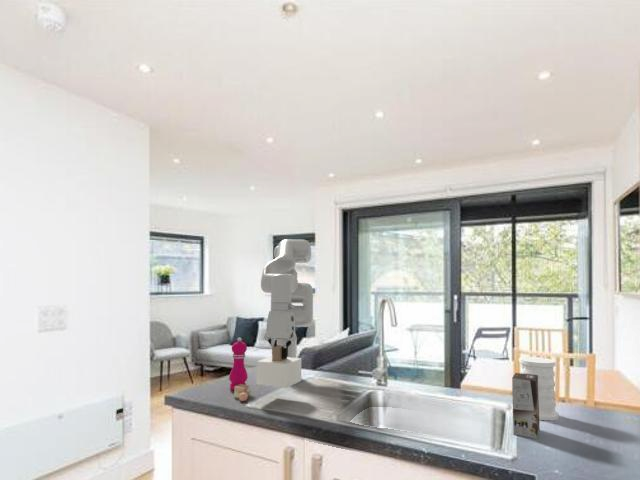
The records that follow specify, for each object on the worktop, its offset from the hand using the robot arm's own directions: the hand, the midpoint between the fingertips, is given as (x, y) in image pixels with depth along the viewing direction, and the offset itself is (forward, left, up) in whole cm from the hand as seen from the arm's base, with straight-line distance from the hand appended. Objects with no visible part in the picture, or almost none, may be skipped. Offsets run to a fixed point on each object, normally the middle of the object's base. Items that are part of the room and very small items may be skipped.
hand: (279, 357), depth 152 cm
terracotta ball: (+6, -11, -15) cm, 20 cm away
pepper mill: (-7, -22, -15) cm, 28 cm away
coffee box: (-2, +81, -15) cm, 82 cm away
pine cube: (+2, -15, -15) cm, 21 cm away
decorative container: (-21, +86, -15) cm, 90 cm away
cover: (0, 0, -9) cm, 9 cm away
